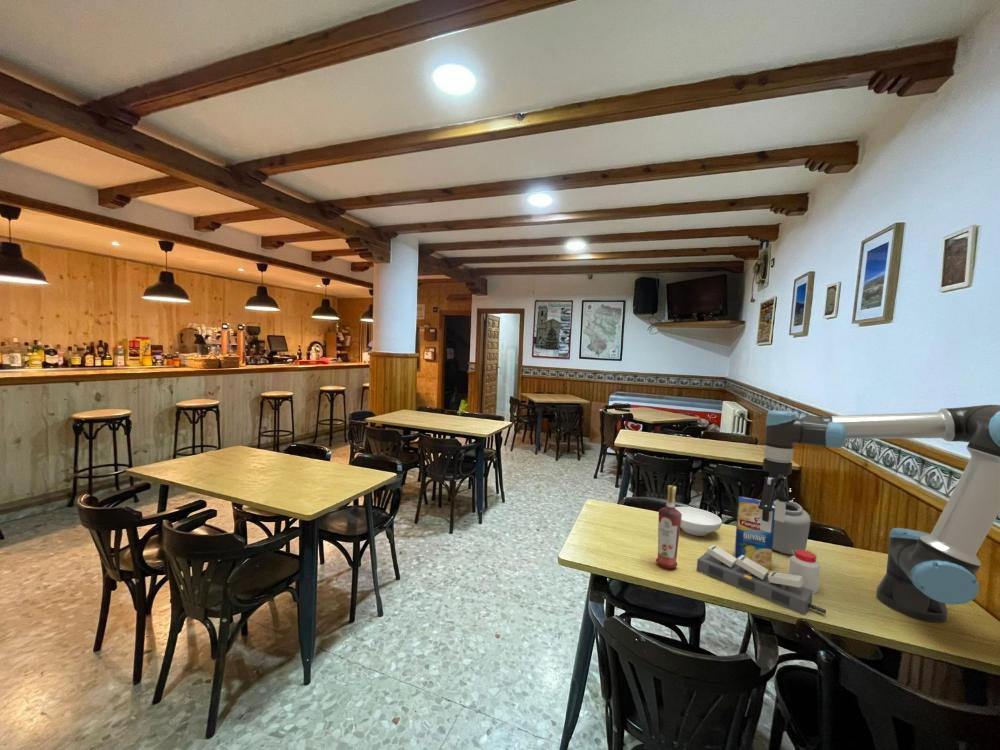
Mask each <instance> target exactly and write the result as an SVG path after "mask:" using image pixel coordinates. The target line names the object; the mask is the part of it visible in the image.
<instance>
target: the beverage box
mask: <svg viewBox="0 0 1000 750" xmlns="http://www.w3.org/2000/svg"><path fill="white" fill-rule="evenodd" d="M737 500H738V501H737V502H738V503H737V516H736V526H735V527H736V528H735V529H736V530H735V540H734V541H735V543H734V551H733V552H734V555H733V557H735V558H737V559H738V558H739V557H740V556H741V555H743V556H745V557H747V558H749V559H750V560H752V561H754V562H755V563H757V564H759V565H761V566H762V567H764V568H766V569H767V570H769V571H771V569H772V560H773V559H772V558H773V556H772V555H773V549H772V547H773V535H774V523H775V520H774V515H775V505H774V503H773V506H772V510H771V511H773V512H772V525H771V533H769V532H766V531H763V530H760V523H761V510H762V509H759V508H758V506H759V505H760V501H761V499H756V498H750V497H746V496H738V499H737ZM765 506H766V505H765Z"/></svg>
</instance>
